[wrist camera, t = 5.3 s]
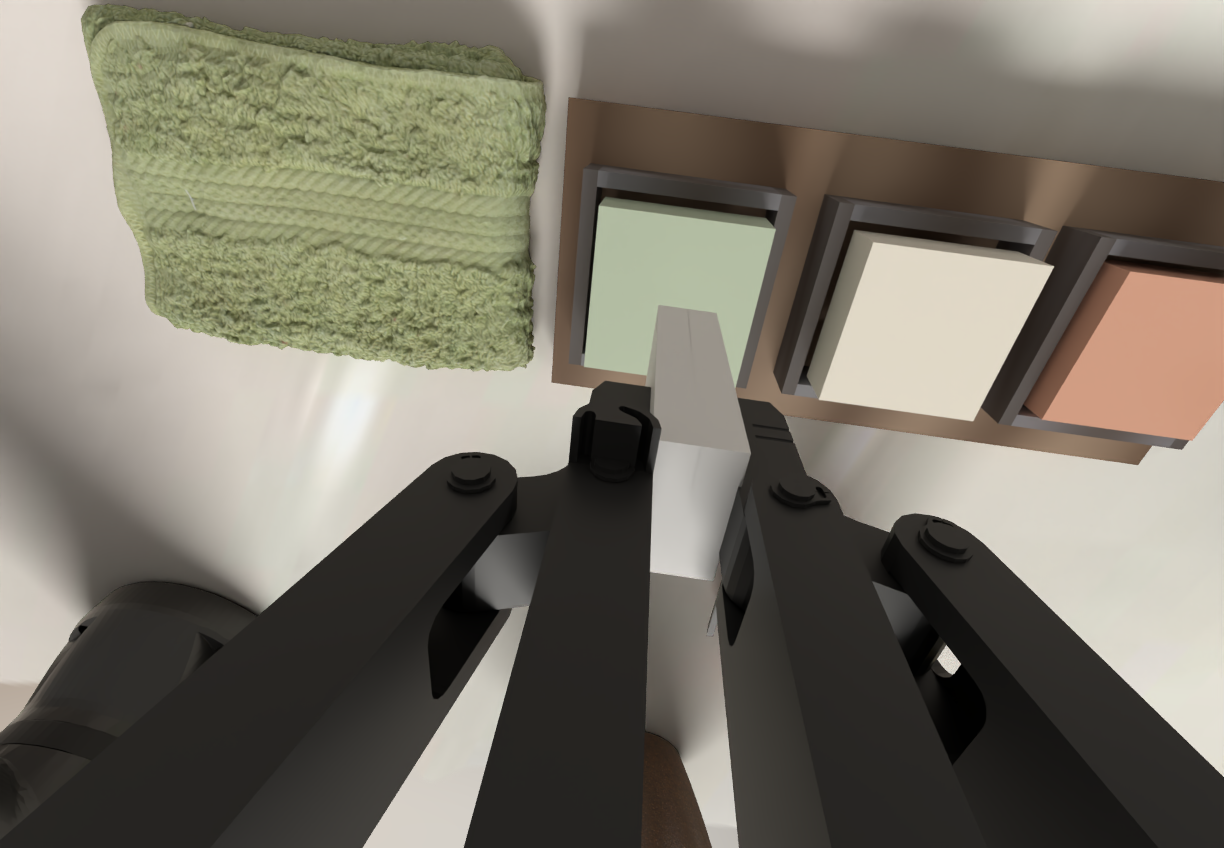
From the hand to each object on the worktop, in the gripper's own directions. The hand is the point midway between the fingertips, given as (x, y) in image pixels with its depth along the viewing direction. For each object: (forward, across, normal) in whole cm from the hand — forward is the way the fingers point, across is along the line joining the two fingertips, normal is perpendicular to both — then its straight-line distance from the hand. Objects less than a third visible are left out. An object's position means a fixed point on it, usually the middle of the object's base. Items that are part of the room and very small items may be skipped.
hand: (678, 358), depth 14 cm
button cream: (+6, +8, 0) cm, 11 cm away
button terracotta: (+7, +17, 0) cm, 18 cm away
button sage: (+6, 0, 0) cm, 6 cm away
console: (+10, +8, 0) cm, 13 cm away
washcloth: (+11, -14, 0) cm, 18 cm away
